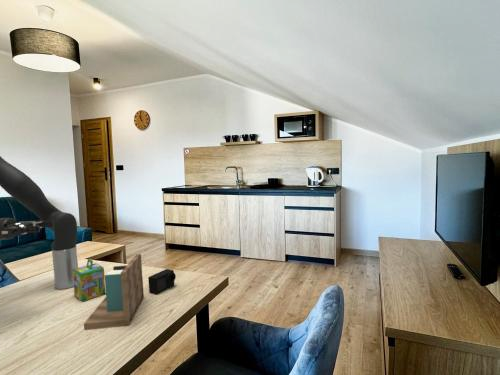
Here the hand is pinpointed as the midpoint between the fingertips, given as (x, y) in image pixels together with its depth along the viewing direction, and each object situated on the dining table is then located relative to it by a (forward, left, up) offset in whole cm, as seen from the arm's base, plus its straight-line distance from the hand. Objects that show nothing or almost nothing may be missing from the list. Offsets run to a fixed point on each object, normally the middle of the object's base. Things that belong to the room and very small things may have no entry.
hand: (46, 226), depth 102 cm
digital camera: (-13, +36, -32) cm, 50 cm away
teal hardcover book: (+5, +24, -30) cm, 39 cm away
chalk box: (-13, +7, -32) cm, 36 cm away
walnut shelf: (+4, +23, -32) cm, 40 cm away
